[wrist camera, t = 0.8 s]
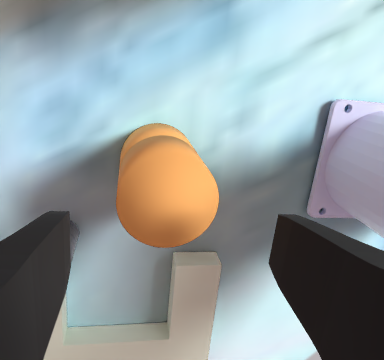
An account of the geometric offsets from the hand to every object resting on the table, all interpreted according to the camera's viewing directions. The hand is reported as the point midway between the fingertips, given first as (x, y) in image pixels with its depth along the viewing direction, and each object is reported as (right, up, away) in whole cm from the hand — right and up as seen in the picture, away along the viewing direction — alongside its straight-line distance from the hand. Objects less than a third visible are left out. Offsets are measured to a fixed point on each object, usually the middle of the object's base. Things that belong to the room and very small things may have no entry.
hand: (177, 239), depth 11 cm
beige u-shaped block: (-4, -7, +12) cm, 15 cm away
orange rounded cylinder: (-2, +3, +9) cm, 10 cm away
